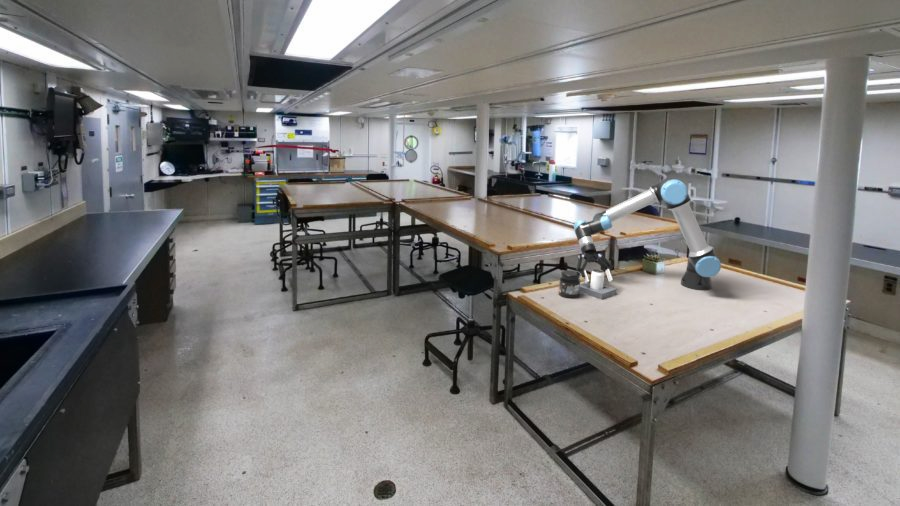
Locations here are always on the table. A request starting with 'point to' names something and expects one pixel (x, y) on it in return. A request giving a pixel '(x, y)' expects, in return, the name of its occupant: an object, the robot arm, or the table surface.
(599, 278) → the can
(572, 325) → the table surface
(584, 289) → the socket plate
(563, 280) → the supplement container
